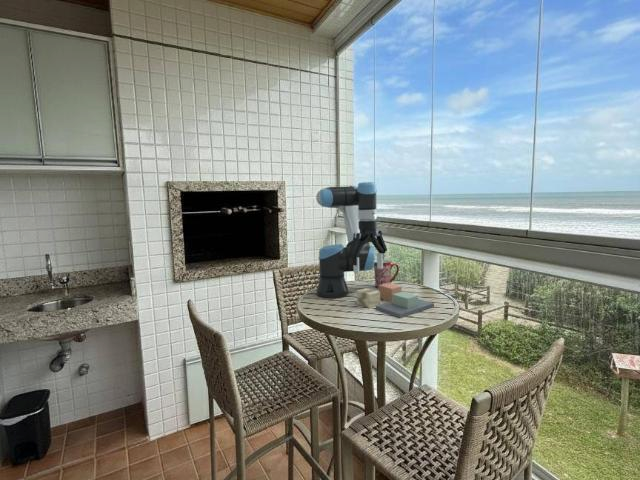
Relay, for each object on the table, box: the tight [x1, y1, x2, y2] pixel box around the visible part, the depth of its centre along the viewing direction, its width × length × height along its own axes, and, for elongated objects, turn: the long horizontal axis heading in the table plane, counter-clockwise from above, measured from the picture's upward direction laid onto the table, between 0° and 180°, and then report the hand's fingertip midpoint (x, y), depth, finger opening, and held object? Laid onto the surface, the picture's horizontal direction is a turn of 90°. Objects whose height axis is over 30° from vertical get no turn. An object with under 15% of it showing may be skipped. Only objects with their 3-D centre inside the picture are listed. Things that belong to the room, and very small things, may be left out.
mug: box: [373, 258, 400, 289], centre depth 167 cm, size 13×9×14 cm
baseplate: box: [375, 291, 435, 319], centre depth 135 cm, size 13×20×6 cm, turn 125°
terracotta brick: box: [378, 283, 402, 302], centre depth 148 cm, size 8×6×6 cm
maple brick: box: [356, 287, 381, 309], centre depth 141 cm, size 8×6×6 cm
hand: (368, 270), depth 140 cm, fingers open, 13 cm apart
